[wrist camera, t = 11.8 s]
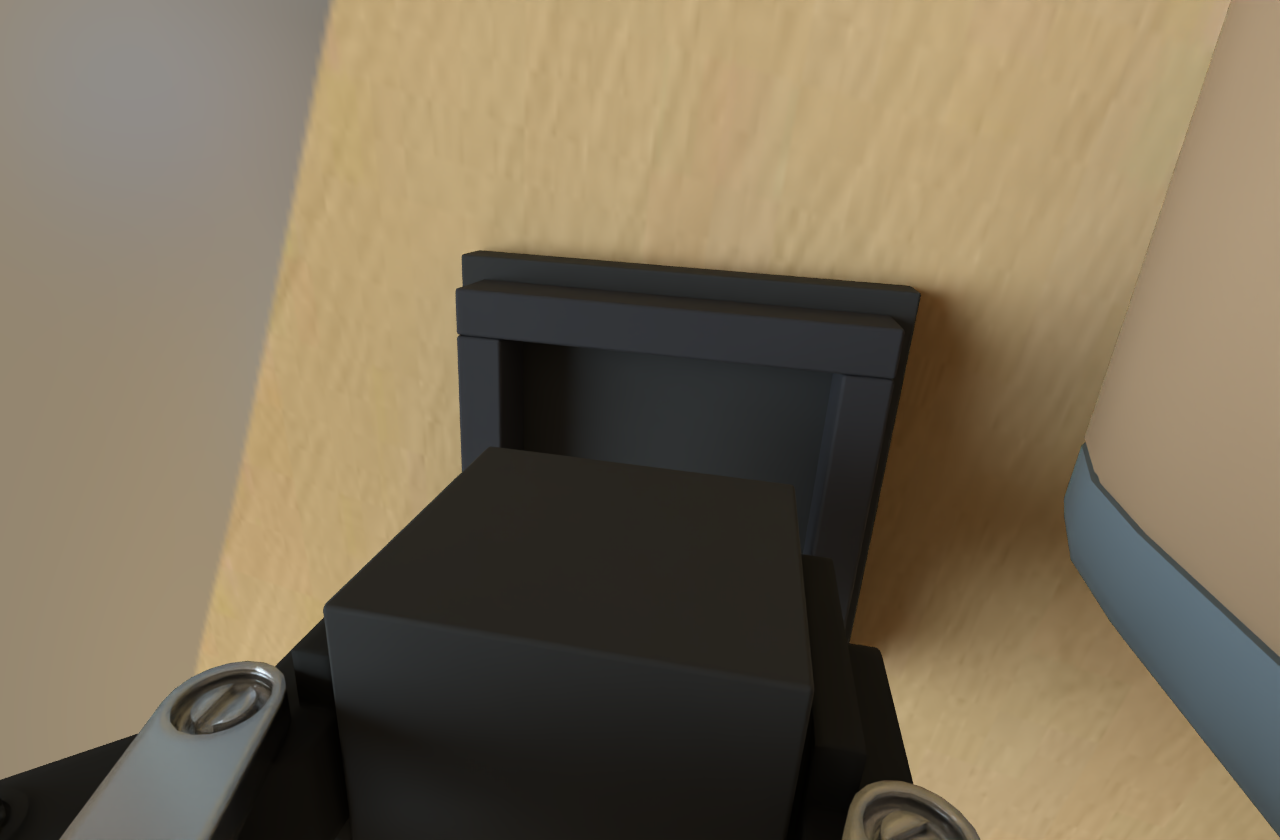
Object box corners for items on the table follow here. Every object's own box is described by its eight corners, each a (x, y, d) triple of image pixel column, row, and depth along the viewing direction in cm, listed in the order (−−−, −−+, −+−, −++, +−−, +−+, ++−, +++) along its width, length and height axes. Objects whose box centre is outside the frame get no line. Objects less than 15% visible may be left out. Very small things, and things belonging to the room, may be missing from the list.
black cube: (493, 685, 13) (362, 929, 9) (488, 444, 11) (319, 604, 7) (756, 732, 12) (752, 1024, 8) (795, 483, 10) (815, 690, 6)
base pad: (487, 600, 19) (449, 657, 17) (478, 250, 16) (429, 261, 14) (837, 657, 18) (848, 727, 16) (911, 285, 15) (940, 305, 12)
